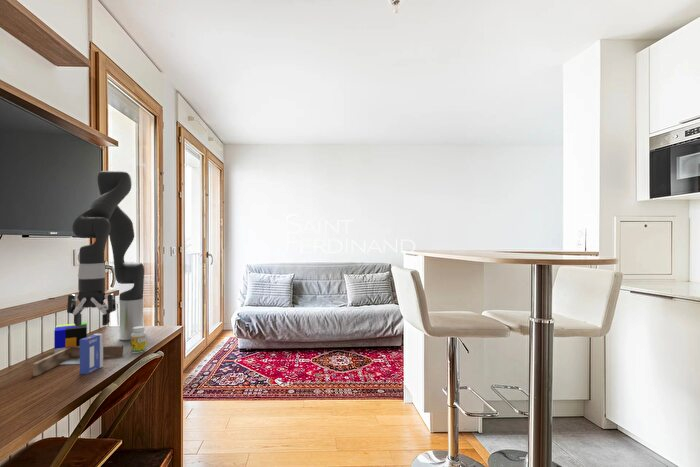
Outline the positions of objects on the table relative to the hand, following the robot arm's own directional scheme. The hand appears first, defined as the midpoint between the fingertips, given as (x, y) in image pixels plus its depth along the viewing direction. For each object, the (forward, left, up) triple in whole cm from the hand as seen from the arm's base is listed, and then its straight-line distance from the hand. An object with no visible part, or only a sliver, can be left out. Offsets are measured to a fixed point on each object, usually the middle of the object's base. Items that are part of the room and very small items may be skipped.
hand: (91, 325), depth 133 cm
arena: (-7, -7, -15) cm, 18 cm away
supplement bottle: (-21, +6, -16) cm, 27 cm away
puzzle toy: (-23, -20, -16) cm, 34 cm away
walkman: (0, 0, -16) cm, 16 cm away
